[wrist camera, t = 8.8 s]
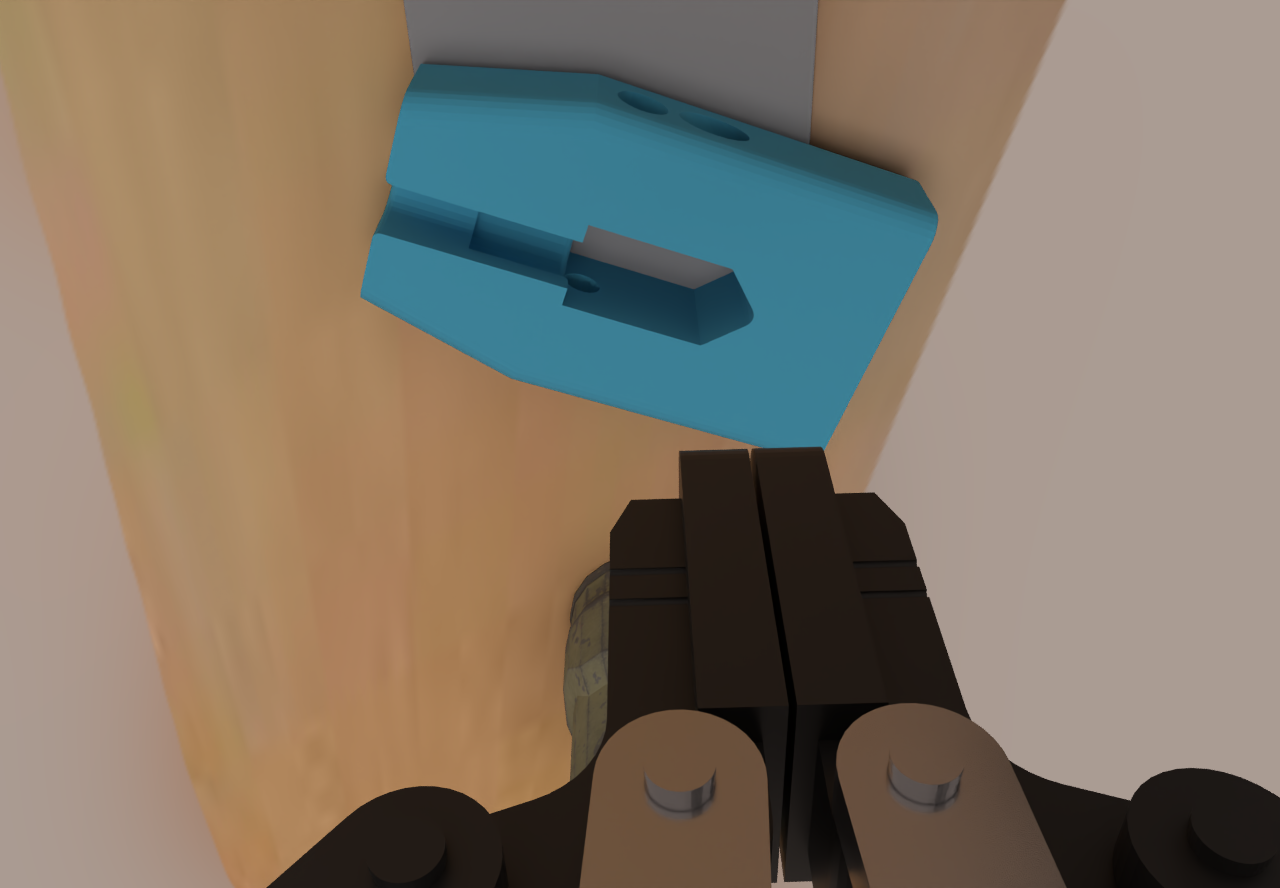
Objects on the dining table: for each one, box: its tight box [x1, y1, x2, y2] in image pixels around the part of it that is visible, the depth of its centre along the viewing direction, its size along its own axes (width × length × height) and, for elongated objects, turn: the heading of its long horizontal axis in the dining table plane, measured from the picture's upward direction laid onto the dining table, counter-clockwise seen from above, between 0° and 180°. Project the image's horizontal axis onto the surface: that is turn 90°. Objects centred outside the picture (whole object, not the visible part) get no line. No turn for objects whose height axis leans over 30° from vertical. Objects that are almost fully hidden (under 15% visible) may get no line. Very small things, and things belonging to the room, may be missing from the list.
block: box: [361, 64, 938, 450], centre depth 45 cm, size 12×5×20 cm
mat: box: [404, 0, 818, 289], centre depth 44 cm, size 16×16×1 cm
